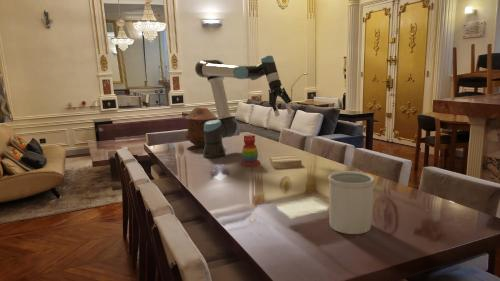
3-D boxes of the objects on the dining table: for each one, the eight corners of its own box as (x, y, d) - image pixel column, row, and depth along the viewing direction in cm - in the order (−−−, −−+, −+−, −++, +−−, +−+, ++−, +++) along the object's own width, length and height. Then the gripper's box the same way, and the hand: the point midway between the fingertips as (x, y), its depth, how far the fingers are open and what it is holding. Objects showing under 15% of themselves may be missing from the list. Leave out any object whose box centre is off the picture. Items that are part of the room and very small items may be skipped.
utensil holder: (364, 216, 131) (365, 169, 128) (380, 234, 116) (381, 181, 113) (324, 218, 130) (323, 171, 127) (335, 236, 116) (334, 184, 113)
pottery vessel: (183, 144, 287) (180, 107, 281) (215, 141, 294) (212, 105, 289) (188, 150, 262) (184, 109, 257) (222, 147, 270) (219, 107, 264)
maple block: (269, 162, 219) (269, 156, 218) (295, 160, 220) (295, 154, 219) (273, 169, 203) (273, 162, 202) (301, 167, 204) (301, 160, 203)
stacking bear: (260, 162, 218) (259, 133, 215) (259, 166, 208) (257, 136, 205) (242, 162, 219) (241, 134, 216) (240, 167, 209) (238, 136, 206)
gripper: (266, 79, 205) (277, 115, 205) (290, 78, 224) (300, 110, 224) (256, 84, 210) (267, 118, 210) (280, 82, 229) (290, 114, 229)
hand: (284, 114), depth 217 cm, fingers open, 13 cm apart
